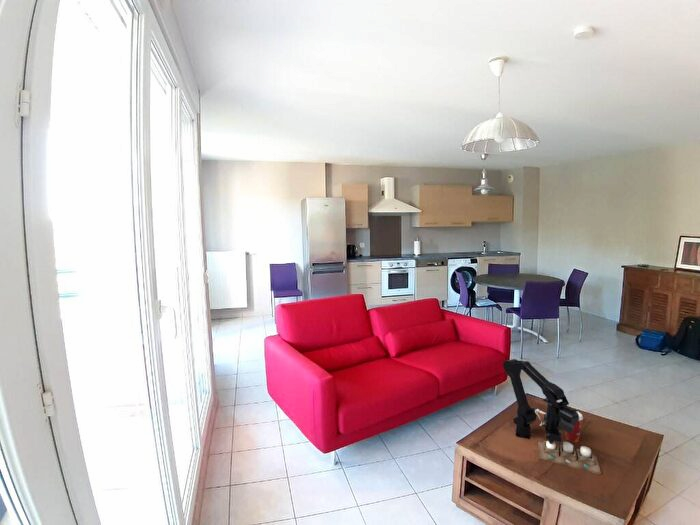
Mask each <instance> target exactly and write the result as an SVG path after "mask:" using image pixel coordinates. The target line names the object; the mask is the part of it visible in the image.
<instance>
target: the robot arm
mask: <svg viewBox="0 0 700 525" xmlns="http://www.w3.org/2000/svg"><path fill="white" fill-rule="evenodd" d="M502 367H503V369H504V371H505V374H506V375H507V376H508V377H509V378H510V382H511V385H512V386H511V387H512V389H513V393H514V396H515V399H516V402H517V412H516V414H517V416H516V417H514V418H512V421H513V424H515V436H516V437H519V438H522V439H527V440H530V437H531V434H532V426H531V425H533V423H534V422H536V420H537V417H538V415H537V414H536V413H535V410H536V409H535V408H534V407H532V406H531V405H530V404H529V402H528V398H527V395H526V392H525V389H524V388H525V387H524V385H523V382H522V379H521V372H522V371H523V372H524V373H525V374H526V375H527V376H528V377H529V378H530V379H531V380H532V381H534V382H533V383H535V384H536V385H538V387H540V389H541V391H542V394H543V395H544V396H545V398H543V399H542V401H543V402H545V403H546V411H545V413H546V414H545V415H544V421H545V424H544V432H545V438H546V439H547V441H549V443H550V444H553V442H558V443H562V441H563V437H562V433H561V432H560V431H561V430H563V431H565V433H566V432H568V433H569V434H571V433H572V431H573V429H574V426H573V425H575V424H577V422H578V420H579V414H578V413H577V412H578V411H577V409H575V408H572V407H570V403H569V402H570V401H569V400H568V399H567V397H566V395H565V391H564V390H563V389H562V388H561V387H560V386H559V385H557V384H555V383H553V382H551V381H549V380H548V379H547V378H546V377H545V376H543V374H542V373H540V372H539V371H538V370H537V369H536V367H534V366H533V365H532V363H531V362H529V361H528V360H519V359H518V360H517V359H516V358H512V359H509V360H508V359H507V360H505V361H504V362H503V364H502ZM560 400H561V401H560Z"/></svg>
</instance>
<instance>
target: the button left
mask: <svg viewBox="0 0 700 525" xmlns="http://www.w3.org/2000/svg"><path fill="white" fill-rule="evenodd" d="M546 441H547V442H546V448H550V449H554V450H555V449H556V444H557V443H556V444H555V441H553V444H550V443H549V440H546Z"/></svg>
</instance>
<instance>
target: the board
mask: <svg viewBox="0 0 700 525" xmlns="http://www.w3.org/2000/svg"><path fill="white" fill-rule="evenodd" d="M547 441H548V440H543V441H542V442H540V441H538V442H537V446H538V447H537V448H538V458H539V459H541V460H544V461H548V462H551V463H554V464H559V465H564V466H566V467H570V468H573V469H574V468H575V469H578V470H582V471H586V472H589V473H594V474H597V475H600V476H601V475H602V472H601V468H600V465H599V462H598V460H597V459H598V458H597V456H596V455H595V454H593V452H592V451H591V457H590V458H586V457H582V456H580V450H581V448H575V447H573V454H570V453H566V452H563V444H560V443H559V445H558V443H555V442H554V443H555V444H556V449H555V450H554V449H550V448H546V442H547Z"/></svg>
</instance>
